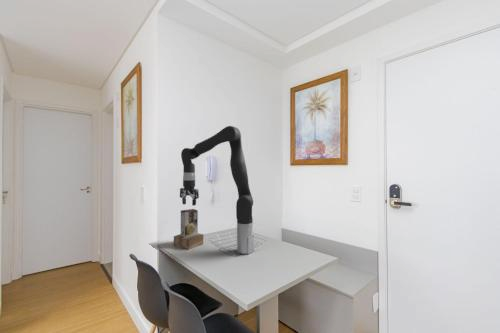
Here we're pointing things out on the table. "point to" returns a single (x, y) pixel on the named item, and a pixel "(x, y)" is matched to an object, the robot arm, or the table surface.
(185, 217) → the coffee box
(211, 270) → the table surface
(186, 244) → the walnut crate
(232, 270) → the table surface
